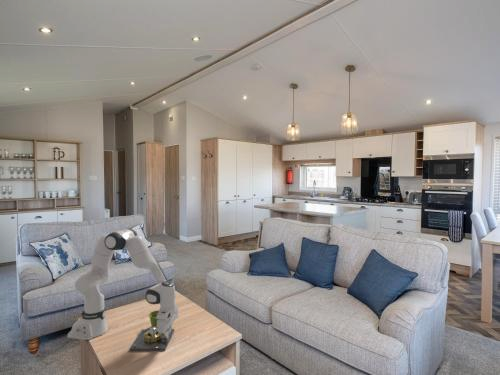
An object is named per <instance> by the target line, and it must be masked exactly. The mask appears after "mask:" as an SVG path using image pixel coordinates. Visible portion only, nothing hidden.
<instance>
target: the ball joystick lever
mask: <svg viewBox="0 0 500 375" xmlns="http://www.w3.org/2000/svg"><path fill="white" fill-rule="evenodd" d="M160 339H163V340H165V341H167V340H169V336H168V329H167V330H166V331H165V333H164V336H162V333H158V331H157V335H155V334H152V337H151V336H150V333H149V331H147V332H145V333H144V341H145V342H149V343H150V342H151V343H152V342H156V341H159V340H160Z"/></svg>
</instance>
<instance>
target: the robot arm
mask: <svg viewBox="0 0 500 375" xmlns="http://www.w3.org/2000/svg"><path fill="white" fill-rule="evenodd" d="M124 249H125V250H127V252H128V254H129V257H130V260H131V262H132V264H133V265H134V267H136V268H138V269H145V270H147V271H148V270H149V271H150V272H151V274H152V276H153V278H154V279H155V282H156V284H155V285H152V286H151V287H150V288H148V289H147V290H146V291H145V294H144V297H145V298H144V299H145V301H146V302H147V303H148V304H149V305H159V306H160V307H159V312H158V314H157V316H156V318H157V319H158V320H157V331H158V333H165V331H166V330H167V329H168V333H170V332H171V329H172V327H173V326H172V325H173V323H174V322H175V321H176V320H177V319H178V317H179V309H178V307H177V304H176V296H177V295H176V294H177V293H176V288H175V286H176V285H175V284H174V282H172V281H170V280H168V278H167V277H166V274H165V273H164V271H163V270H162V266H161V265H160V263H159V262H158V260H157V258H155V257H153V255H152V254H151V252H150V249H149V246H148V244H147V243H146V241H145V238H144V237H143V236H141V235H138V233H137V232H136V230H135V229H132V228H125V229H119V230H116V231H114V232H110V233H108V234H107V233H105V234H103V235H102V236H100V238H99V239H98V241H97V243H96V245H95V248H94V250H93V253H92V256H91V258H90V264H91V266H92V267H91V269H90V270H89V271H88V272H86V273H84V274H83V275H81V276H79V277H78V278H77V279H76V281H75V282H74V289H75V291H76V292H77V293H78V294H80V295H81V296H82V297H83V303H84V306H83V307H84V310H83V311H82V312H81V313H80V318H79V319H77V321H75V322H74V323H73V324H72V327H71V330H70V331H69V332H68V333H67V334H66V336H67V337H66V338H67V339H74V340H75V339H76V340H84V341H85V340H87V341H89V340H91V339H94V338H95V337H97V338H98V337H99V336H102V335H104V334H105V333H107V331H109V327H108V324H107V321H106V313H107V312H106V307H105V296H104V294H103V293H101V292H100V286H102V285H104V284H105V283H107V281H108V280H109V279H110V278H111V275H112V274H111V270H110V264H111V261H112V258H113V256H114V253H115V251H122V250H124Z"/></svg>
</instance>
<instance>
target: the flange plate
mask: <svg viewBox="0 0 500 375" xmlns="http://www.w3.org/2000/svg"><path fill="white" fill-rule="evenodd" d="M147 331H149V333H150V336H151V337H152V334H155V335H157V329H156V327H152V326H150V328H149V329H142V330H141V331H140V333H139V334H138V335H137V337H136V338H135V340H134V341H133V342H132V344H131V346H130V347H129V352H140V351H141V352H143V351H144V352H146V351H148V352H149V351H153V352H154V351H155V352H157V351H166V350H167V348H168V346H169V344H170V342H171V339H172V337H173V335H174V333H175V329H174V328H171V332H170V333H168V336H169V340H167V341H165V340H163V339H160V340H159V341H156V342H152V343H151V342H150V343H149V342H145V341H144V333H145V332H147ZM162 336H164V333H162Z"/></svg>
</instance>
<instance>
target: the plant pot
mask: <svg viewBox="0 0 500 375" xmlns="http://www.w3.org/2000/svg"><path fill="white" fill-rule="evenodd" d="M159 310H160V309H159ZM159 310H158V309H156V310H153V311H151V312H149V314H148V317H149V319H150V320H149V321H150V325H151V326H150V327H156V329H157V320H158V319H157V318H156V316H157V314H158V312H159Z"/></svg>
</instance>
